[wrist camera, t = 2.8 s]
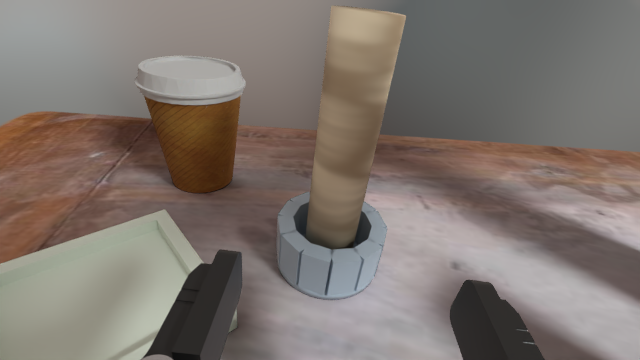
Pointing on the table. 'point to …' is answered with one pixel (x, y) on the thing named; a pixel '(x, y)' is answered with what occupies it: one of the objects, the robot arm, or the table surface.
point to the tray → (95, 293)
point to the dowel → (350, 119)
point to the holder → (327, 253)
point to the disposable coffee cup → (194, 117)
